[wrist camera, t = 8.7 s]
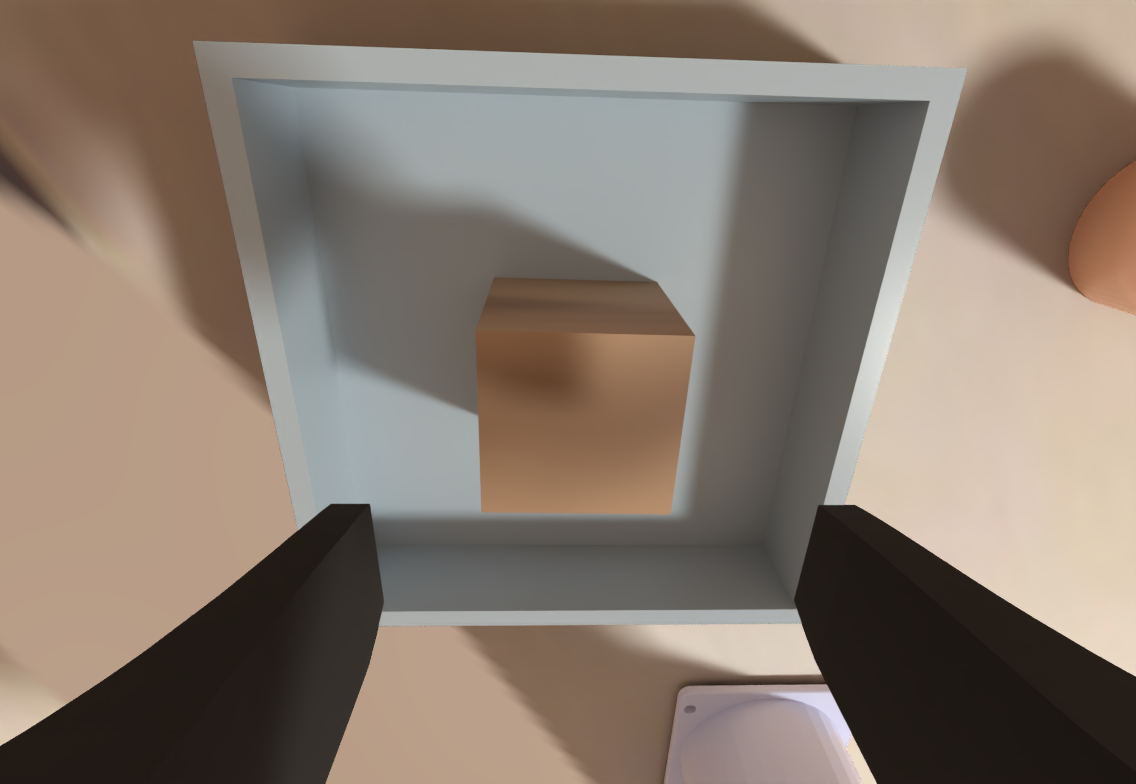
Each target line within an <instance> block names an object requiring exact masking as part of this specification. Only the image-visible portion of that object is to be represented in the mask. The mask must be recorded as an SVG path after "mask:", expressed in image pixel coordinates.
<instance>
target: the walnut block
mask: <svg viewBox="0 0 1136 784" xmlns="http://www.w3.org/2000/svg"><path fill="white" fill-rule="evenodd" d="M475 331H476V362H477V393H478V424H479V455H480V486H481V512H486V513H582V514H671V508H672V501H673V494H674V487H675V479H676V472H677V465H678V458H679V451H680V444H681V436H682V429H683V422H684V415H685V408H686V401H687V393H688V386H689V379H690V372H691V365H692V358H693V350H694V343H695V335H694V333H693V332H692V330H691V329H690V328H689V326H688V325H687V323H686V322H685V321H684V319H683V318H682V316H681V315H680V314H679V312H678V311H677V309H676V308H675V307H674V305H673V304H672V302H671V301H670V299H669V298H668V297H667V295H666V294H665V292H664V291H663V290H662V288H661V287H660V285H659V284H658V283H657V282H636V281H602V280H568V279H534V278H500V277H494V279H493V282H492V285H491V288H490V291H489V294H488V296H487V299H486V302H485V305H484V308H483V311H482V313H481V316H480V319H479V322H478V325H477V328H476V330H475Z"/></svg>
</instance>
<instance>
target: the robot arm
mask: <svg viewBox="0 0 1136 784" xmlns="http://www.w3.org/2000/svg"><path fill="white" fill-rule="evenodd" d="M794 602H795V605H796V608H797V611H798V614H799V617H800V620H801V623H802V626H803V629H804V632H805V635H806V637H807V640H808V643H809V645H810V648H811V651H812V653H813V656H814V659H815V661H816V663H817V665H818V667H819V669H820V671H821V673H822V676H823V678H824V680H825V682H826V684H806V685H715V686H686V687H684V688H682V689H681V690H680V691H679V693H678V697H677V703H676V710H675V716H674V722H673V729H672V735H671V741H670V747H669V754H668V760H667V766H666V772H665V779H664V784H863V782H862V780H861V778H860V776H859V773H858V771H857V769H856V767H855V765H854V763H853V761H852V759H851V757H850V755H849V753H848V751H847V749H846V748H847V745H848V743H849V740H850V737H851V734H852V735H853V737H854V739H855V741H856V743H857V745H858V747H859V749H860V751H861V753H862V755H863V757H864V759H865V761H866V763H867V765H868V767H869V769H870V771H871V773H872V774H873V776H874V778H875V780H876V782H877V784H1136V677H1135V676H1134V675H1132V674H1130V673H1128V672H1126V671H1124V670H1123V669H1121V668H1119V667H1117V666H1115V665H1114V664H1112V663H1110V662H1108V661H1107V660H1105V659H1103V658H1101V657H1099V656H1098V655H1096V654H1094V653H1092V652H1091V651H1089V650H1087V649H1085V648H1084V647H1082V646H1080V645H1079V644H1077V643H1075V642H1074V641H1072V640H1070V639H1069V638H1067V637H1065V636H1064V635H1062V634H1060V633H1058V632H1057V631H1055V630H1053V629H1052V628H1050V627H1048V626H1047V625H1045V624H1043V623H1042V622H1040V621H1038V620H1037V619H1035V618H1033V617H1032V616H1030V615H1028V614H1027V613H1025V612H1024V611H1022V610H1020V609H1019V608H1017V607H1015V606H1014V605H1012V604H1011V603H1009V602H1007V601H1006V600H1004V599H1003V598H1001V597H999V596H998V595H996V594H995V593H993V592H992V591H990V590H988V589H987V588H985V587H984V586H982V585H981V584H979V583H977V582H976V581H974V580H973V579H971V578H970V577H968V576H967V575H965V574H963V573H962V572H960V571H959V570H957V569H956V568H954V567H953V566H951V565H950V564H948V563H947V562H945V561H943V560H942V559H940V558H939V557H937V556H936V555H934V554H933V553H931V552H930V551H928V550H927V549H925V548H924V547H922V546H921V545H919V544H917V543H916V542H914V541H913V540H911V539H910V538H908V537H907V536H905V535H904V534H902V533H901V532H899V531H897V530H896V529H894V528H893V527H891V526H890V525H888V524H886V523H885V522H883V521H882V520H880V519H878V518H877V517H875V516H873V515H872V514H870V513H868V512H867V511H865V510H863V509H861V508H859V507H858V506H856V505H818V508H817V512H816V516H815V520H814V524H813V527H812V531H811V535H810V539H809V543H808V547H807V551H806V555H805V558H804V562H803V566H802V570H801V574H800V578H799V582H798V586H797V589H796V593H795V597H794ZM383 605H384V597H383V590H382V583H381V576H380V569H379V562H378V555H377V548H376V541H375V534H374V527H373V520H372V514H371V507H370V504H330V505H329V506H327V507H326V508H325V509H323V510H322V511H321V512H320V513H318V514H317V515H316V516H315V517H313V518H312V519H311V520H310V521H309V522H307V523H306V524H305V525H304V526H303V527H301V528H300V529H299V530H298V531H297V532H296V533H294V534H293V535H292V536H291V537H290V538H288V539H287V540H286V541H285V542H284V543H283V544H281V545H280V546H279V547H278V548H277V549H275V550H274V551H273V552H272V553H270V554H269V555H268V556H267V557H266V558H265V559H263V560H262V561H261V562H259V564H257V565H256V566H255V567H253V568H252V569H251V570H250V571H248V572H247V573H246V574H245V575H244V576H242V577H241V578H240V579H239V580H237V581H236V582H235V583H234V584H233V585H231V586H230V587H229V588H228V589H226V590H225V591H224V592H223V593H221V594H220V595H219V596H218V597H216V598H215V599H214V600H212V601H211V602H210V603H208V604H207V605H206V606H204V607H203V608H202V609H200V610H199V611H198V612H197V613H195V614H194V615H192V616H191V617H190V618H188V619H187V620H186V621H184V622H183V623H182V624H180V625H179V626H178V627H176V628H175V629H174V630H172V631H171V632H170V633H168V634H167V635H166V636H164V637H163V638H162V639H160V640H159V641H158V642H157V643H155V644H154V645H153V646H151V647H150V648H149V649H147V650H146V651H144V652H143V653H142V654H140V655H139V656H138V657H136V658H135V659H133V660H132V661H130V662H129V663H127V664H126V665H125V666H123V667H122V668H120V669H119V670H117V671H116V672H114V673H113V674H112V675H110V676H109V677H107V678H106V679H104V680H103V681H101V682H100V683H98V684H97V685H95V686H94V687H92V688H91V689H89V690H88V691H86V692H85V693H83V694H82V695H80V696H79V697H77V698H76V699H74V700H73V701H71V702H69V703H68V704H66V705H65V706H63V707H62V708H60V709H59V710H57V711H56V712H54V713H53V714H51V715H50V716H48V717H47V718H45V719H43V720H42V721H40V722H39V723H37V724H36V725H34V726H32V727H31V728H29V729H28V730H26V731H24V732H23V733H21V734H20V735H18V736H16V737H15V738H13V739H11V740H10V741H8V742H6V743H4V744H3V745H1V746H0V784H325V783H326V780H327V778H328V775H329V772H330V770H331V767H332V764H333V762H334V758H335V756H336V753H337V751H338V748H339V745H340V743H341V740H342V737H343V735H344V732H345V729H346V727H347V724H348V721H349V718H350V716H351V713H352V710H353V708H354V705H355V702H356V699H357V697H358V694H359V691H360V689H361V686H362V683H363V680H364V678H365V675H366V672H367V669H368V666H369V663H370V659H371V655H372V651H373V647H374V643H375V639H376V636H377V631H378V627H379V622H380V618H381V614H382V609H383Z"/></svg>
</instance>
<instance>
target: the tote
mask: <svg viewBox="0 0 1136 784" xmlns="http://www.w3.org/2000/svg"><path fill="white" fill-rule="evenodd" d="M193 46H194V51H195V55H196V60H197V65H198V69H199V74H200V79H201V83H202V88H203V93H204V97H205V102H206V107H207V111H208V116H209V120H210V125H211V130H212V134H213V139H214V144H215V148H216V153H217V158H218V162H219V167H220V172H221V176H222V181H223V186H224V190H225V195H226V200H227V204H228V209H229V213H230V218H231V223H232V227H233V232H234V237H235V241H236V246H237V251H238V255H239V260H240V265H241V269H242V274H243V279H244V283H245V288H246V293H247V297H248V302H249V307H250V311H251V316H252V320H253V325H254V330H255V334H256V339H257V344H258V348H259V353H260V358H261V362H262V367H263V372H264V376H265V381H266V386H267V390H268V395H269V400H270V404H271V409H272V414H273V418H274V423H275V427H276V432H277V437H278V441H279V446H280V451H281V455H282V460H283V464H284V469H285V474H286V479H287V483H288V488H289V493H290V497H291V502H292V507H293V511H294V516H295V520H296V525H297V530H299V529H300V528H301V527H303V526H304V525H305V524H306V523H307V522H309V521H310V520H311V519H312V518H313V517H315V516H316V515H317V514H318V513H320V512H321V511H322V510H323V509H325V508H326V507H327V506H329V505H330V504H370V507H371V514H372V520H373V527H374V534H375V541H376V548H377V555H378V562H379V569H380V576H381V583H382V590H383V597H384V605H383V609H382V614H381V618H380V622H379V626H511V625H668V624H802V623H801V620H800V617H799V614H798V611H797V608H796V605H795V602H794V597H795V593H796V589H797V586H798V582H799V578H800V574H801V570H802V566H803V562H804V558H805V555H806V551H807V547H808V543H809V539H810V535H811V531H812V527H813V524H814V520H815V516H816V512H817V508H818V505H845V502H846V498H847V495H848V491H849V488H850V484H851V481H852V477H853V473H854V470H855V466H856V463H857V459H858V456H859V452H860V449H861V445H862V442H863V438H864V435H865V431H866V427H867V424H868V420H869V417H870V413H871V410H872V406H873V403H874V399H875V396H876V392H877V388H878V385H879V381H880V378H881V374H882V371H883V367H884V364H885V360H886V357H887V353H888V350H889V346H890V342H891V339H892V335H893V332H894V328H895V325H896V321H897V318H898V314H899V311H900V307H901V303H902V300H903V296H904V293H905V289H906V286H907V282H908V279H909V275H910V272H911V268H912V265H913V261H914V257H915V254H916V250H917V247H918V243H919V240H920V236H921V233H922V229H923V226H924V222H925V218H926V215H927V211H928V208H929V204H930V201H931V197H932V194H933V190H934V187H935V183H936V180H937V176H938V172H939V169H940V165H941V162H942V158H943V155H944V151H945V148H946V144H947V141H948V137H949V133H950V130H951V126H952V123H953V119H954V116H955V112H956V109H957V105H958V102H959V98H960V95H961V91H962V87H963V84H964V80H965V77H966V73H967V70H968V68H946V67H918V66H890V65H862V64H834V63H806V62H778V61H750V60H722V59H694V58H666V57H638V56H610V55H582V54H554V53H526V52H498V51H470V50H442V49H414V48H386V47H358V46H330V45H302V44H274V43H246V42H218V41H193ZM494 277H500V278H534V279H568V280H602V281H636V282H657V283H658V284H659V285H660V287H661V288H662V290H663V291H664V292H665V294H666V295H667V297H668V298H669V299H670V301H671V302H672V304H673V305H674V307H675V308H676V309H677V311H678V312H679V314H680V315H681V316H682V318H683V319H684V321H685V322H686V323H687V325H688V326H689V328H690V329H691V330H692V332H693V333H694V335H695V343H694V350H693V358H692V365H691V372H690V379H689V386H688V393H687V401H686V408H685V415H684V422H683V429H682V436H681V444H680V451H679V458H678V465H677V472H676V479H675V487H674V494H673V501H672V508H671V514H582V513H486V512H481V486H480V455H479V424H478V393H477V362H476V331H475V330H476V328H477V325H478V322H479V319H480V316H481V313H482V311H483V308H484V305H485V302H486V299H487V296H488V294H489V291H490V288H491V285H492V282H493V279H494Z"/></svg>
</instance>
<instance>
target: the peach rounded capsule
mask: <svg viewBox="0 0 1136 784" xmlns="http://www.w3.org/2000/svg"><path fill="white" fill-rule="evenodd" d="M1068 264H1069V271H1070V275H1071V278H1072V280H1073V283H1074V285H1075V286H1076V288H1077V289H1078V290H1079V291H1080V292H1081V293H1082V294H1083V295H1084V296H1085V297H1086V298H1088V299H1089V300H1091V301H1093V302H1096V303H1098V304H1101V305H1104V306H1108V307H1111V308H1114V309H1117V310H1120V311H1123V312H1126V313H1130V314H1133V315H1136V161H1134V162H1133V163H1131V164H1129V165H1128V166H1126V167H1125V168H1124V169H1122V170H1121V171H1119V172H1118V173H1117V174H1116V175H1114V176H1113V177H1112V178H1111V179H1110V180H1109V181H1108V182H1107V183H1106V184H1105V185H1104V186H1103V187H1102V188H1101V189H1100V190H1099V191H1098V192H1097V193H1096V194H1095V196H1094V197H1093V198H1092V199H1091V201H1090V202H1089V203H1088V205H1087V206H1086V208H1085V209H1084V211H1083V213H1082V214H1081V216H1080V218H1079V220H1078V222H1077V224H1076V227H1075V229H1074V232H1073V235H1072V238H1071V241H1070V246H1069V254H1068Z"/></svg>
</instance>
